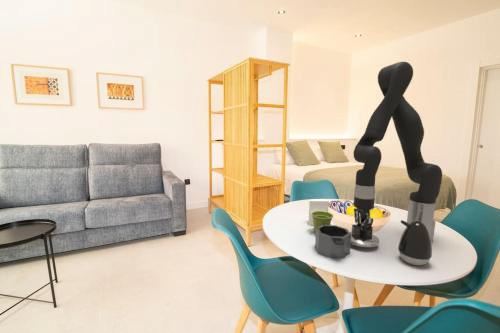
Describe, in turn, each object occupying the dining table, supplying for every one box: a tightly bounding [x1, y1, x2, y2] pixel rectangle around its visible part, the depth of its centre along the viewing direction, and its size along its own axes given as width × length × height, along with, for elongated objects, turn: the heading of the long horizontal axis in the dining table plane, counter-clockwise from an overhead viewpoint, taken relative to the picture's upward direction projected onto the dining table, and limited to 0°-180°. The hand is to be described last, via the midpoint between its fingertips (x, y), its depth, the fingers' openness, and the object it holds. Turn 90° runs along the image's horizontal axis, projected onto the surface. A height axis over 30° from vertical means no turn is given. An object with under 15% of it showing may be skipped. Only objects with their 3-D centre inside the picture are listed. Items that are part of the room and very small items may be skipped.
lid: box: [349, 224, 380, 248], centre depth 107 cm, size 13×13×6 cm
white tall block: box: [308, 198, 330, 227], centre depth 129 cm, size 9×9×12 cm
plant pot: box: [312, 211, 334, 234], centre depth 118 cm, size 9×9×9 cm
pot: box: [314, 224, 352, 259], centre depth 101 cm, size 12×17×8 cm
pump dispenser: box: [397, 219, 433, 266], centre depth 93 cm, size 10×10×15 cm
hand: (361, 236), depth 107 cm, fingers closed on lid, 3 cm apart
